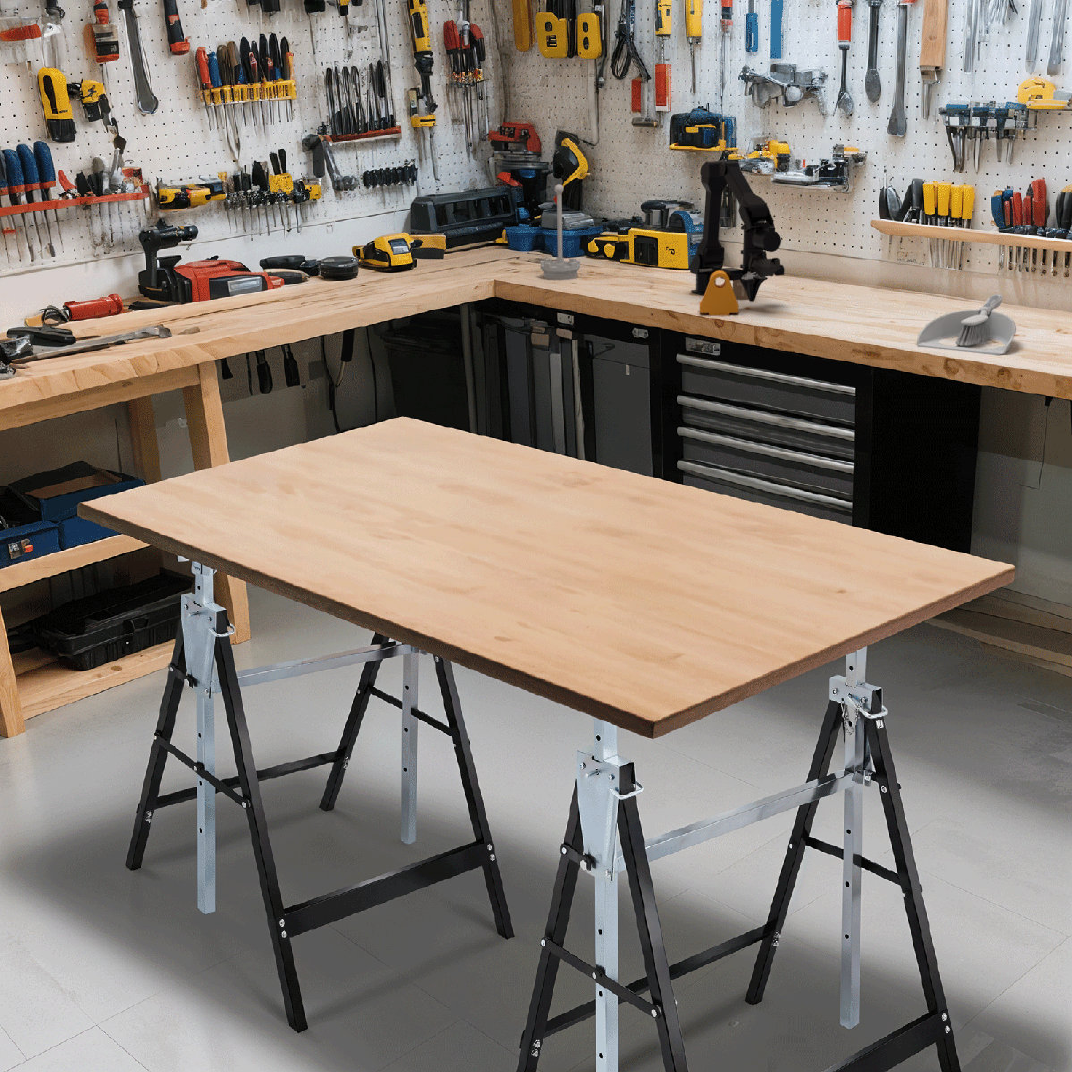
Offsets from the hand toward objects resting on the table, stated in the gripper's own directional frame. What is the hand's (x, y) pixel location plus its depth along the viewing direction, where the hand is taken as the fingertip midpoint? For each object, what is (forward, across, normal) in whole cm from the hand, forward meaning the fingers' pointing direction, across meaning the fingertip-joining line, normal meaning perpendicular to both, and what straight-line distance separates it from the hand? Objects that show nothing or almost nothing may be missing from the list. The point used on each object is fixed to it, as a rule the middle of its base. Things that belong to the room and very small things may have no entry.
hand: (751, 301), depth 395 cm
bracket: (+2, -11, 0) cm, 11 cm away
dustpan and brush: (+2, +28, -63) cm, 69 cm away
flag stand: (+2, -23, +78) cm, 81 cm away
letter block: (+2, +7, +15) cm, 17 cm away
